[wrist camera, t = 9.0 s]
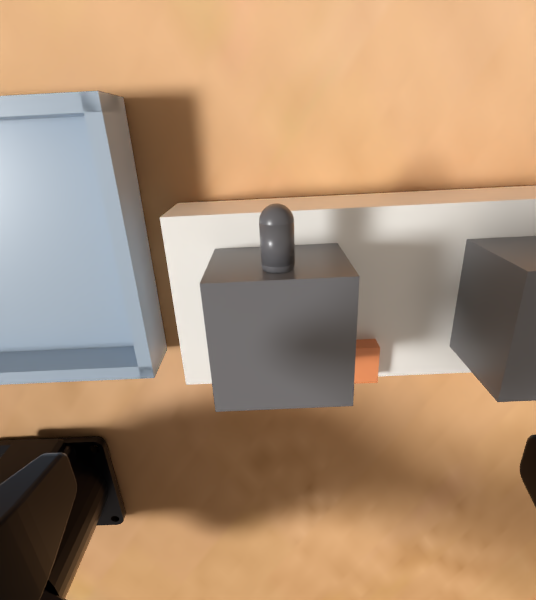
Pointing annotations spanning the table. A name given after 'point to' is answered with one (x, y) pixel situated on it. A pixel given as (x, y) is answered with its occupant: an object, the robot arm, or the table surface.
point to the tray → (73, 244)
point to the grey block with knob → (280, 321)
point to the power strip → (393, 277)
